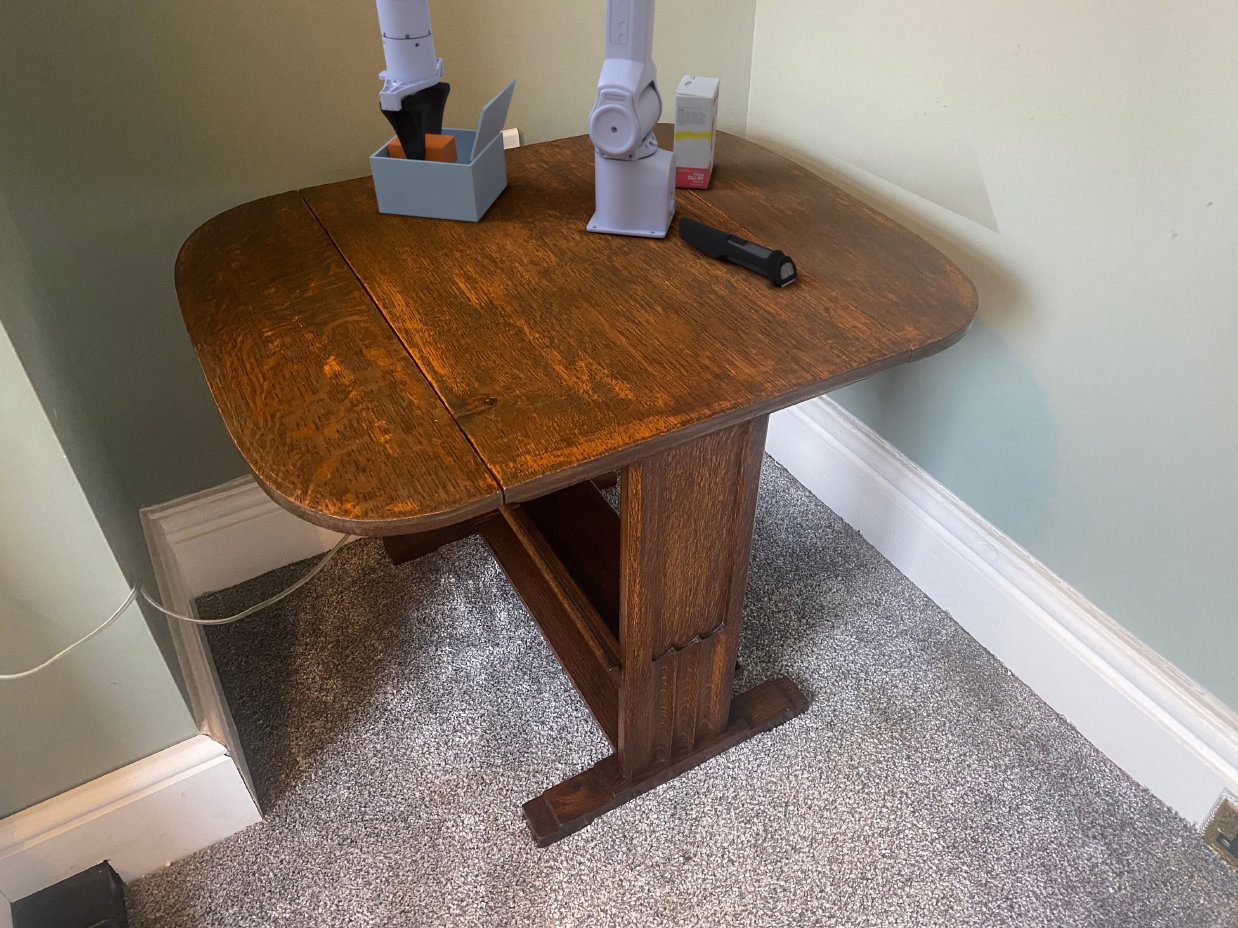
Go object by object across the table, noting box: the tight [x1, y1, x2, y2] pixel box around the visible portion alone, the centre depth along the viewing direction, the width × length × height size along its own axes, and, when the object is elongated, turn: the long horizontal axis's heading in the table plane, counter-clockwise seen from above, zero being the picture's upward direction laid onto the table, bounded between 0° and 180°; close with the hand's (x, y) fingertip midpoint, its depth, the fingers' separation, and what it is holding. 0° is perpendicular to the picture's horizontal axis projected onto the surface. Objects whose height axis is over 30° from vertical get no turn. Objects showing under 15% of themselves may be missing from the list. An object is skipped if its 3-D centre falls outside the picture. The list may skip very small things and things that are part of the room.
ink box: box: [672, 74, 721, 190], centre depth 111 cm, size 9×5×12 cm, turn 169°
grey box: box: [368, 127, 508, 223], centre depth 107 cm, size 13×12×7 cm
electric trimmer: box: [678, 216, 798, 288], centre depth 95 cm, size 4×16×3 cm, turn 45°
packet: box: [388, 134, 458, 163], centre depth 105 cm, size 7×4×3 cm, turn 78°
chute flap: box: [470, 78, 517, 161], centre depth 101 cm, size 6×12×1 cm
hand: (424, 153), depth 105 cm, fingers closed on packet, 4 cm apart
